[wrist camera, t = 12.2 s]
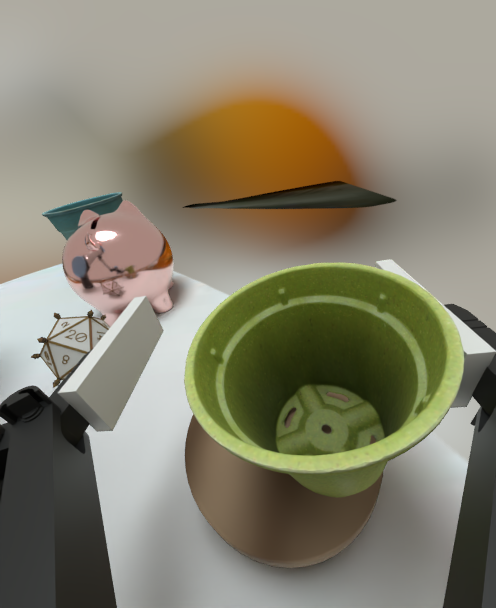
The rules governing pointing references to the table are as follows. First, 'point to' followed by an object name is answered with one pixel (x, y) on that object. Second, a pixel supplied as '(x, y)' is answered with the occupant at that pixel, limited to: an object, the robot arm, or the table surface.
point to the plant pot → (325, 372)
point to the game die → (70, 342)
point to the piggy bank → (118, 261)
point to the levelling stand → (271, 505)
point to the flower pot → (70, 213)
